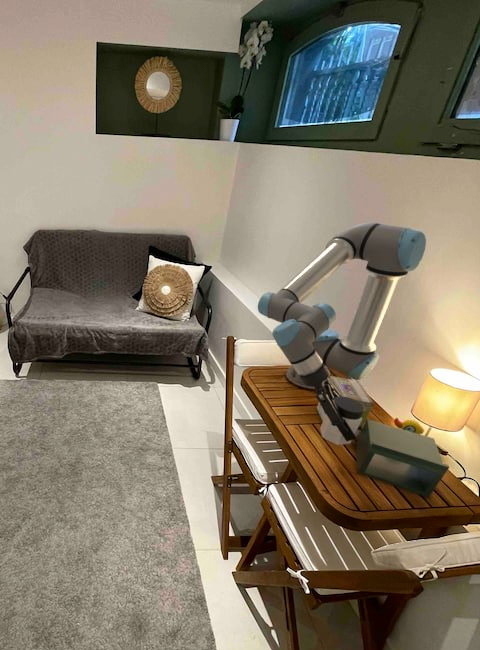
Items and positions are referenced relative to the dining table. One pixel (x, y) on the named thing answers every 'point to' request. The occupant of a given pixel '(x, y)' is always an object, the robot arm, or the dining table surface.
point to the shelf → (396, 467)
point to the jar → (349, 412)
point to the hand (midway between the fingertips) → (350, 430)
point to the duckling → (409, 426)
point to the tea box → (350, 396)
